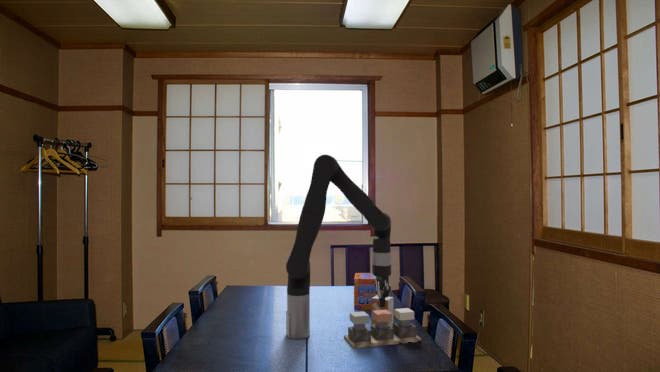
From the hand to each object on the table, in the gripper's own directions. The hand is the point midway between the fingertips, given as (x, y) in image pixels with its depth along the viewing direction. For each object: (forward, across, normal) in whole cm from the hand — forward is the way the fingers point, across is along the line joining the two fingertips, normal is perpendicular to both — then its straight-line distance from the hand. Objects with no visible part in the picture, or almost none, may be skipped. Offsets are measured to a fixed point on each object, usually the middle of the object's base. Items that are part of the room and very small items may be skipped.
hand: (382, 306), depth 183 cm
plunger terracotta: (+9, 0, 0) cm, 9 cm away
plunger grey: (+9, 0, -10) cm, 13 cm away
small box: (+13, -15, +6) cm, 21 cm away
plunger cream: (+9, 0, +9) cm, 13 cm away
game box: (+13, -50, +13) cm, 53 cm away
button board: (+13, 0, 0) cm, 13 cm away
